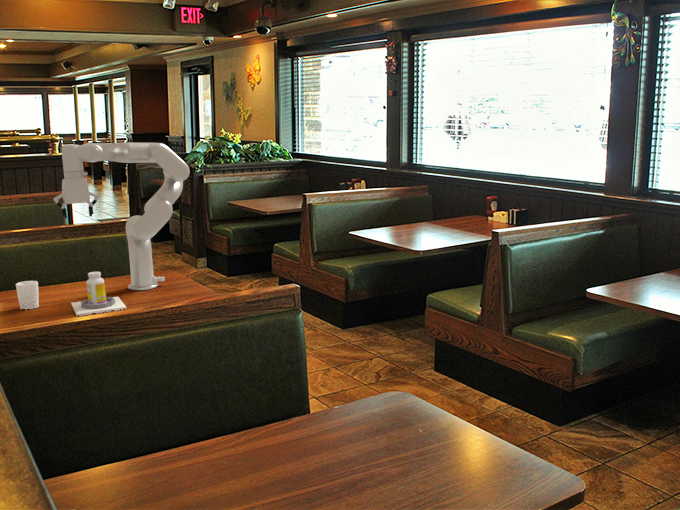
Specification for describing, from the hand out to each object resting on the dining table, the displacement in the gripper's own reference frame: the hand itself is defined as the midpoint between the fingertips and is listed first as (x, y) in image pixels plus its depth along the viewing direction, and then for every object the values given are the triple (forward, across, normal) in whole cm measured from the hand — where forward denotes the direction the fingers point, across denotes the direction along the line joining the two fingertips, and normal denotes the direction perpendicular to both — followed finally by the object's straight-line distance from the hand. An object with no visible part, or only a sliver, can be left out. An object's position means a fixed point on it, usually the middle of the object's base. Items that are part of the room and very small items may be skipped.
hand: (78, 217), depth 273 cm
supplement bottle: (+32, -2, +22) cm, 39 cm away
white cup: (+34, +22, +8) cm, 41 cm away
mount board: (+33, -2, +22) cm, 40 cm away
